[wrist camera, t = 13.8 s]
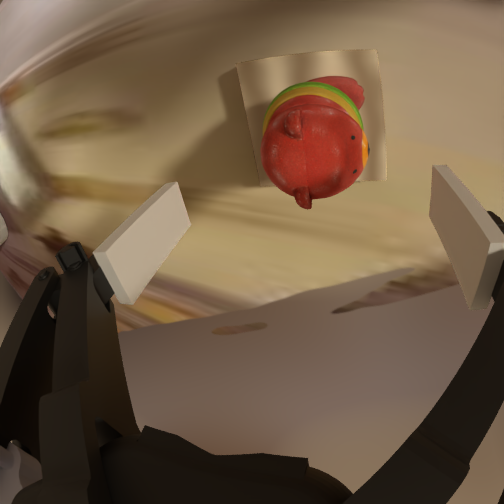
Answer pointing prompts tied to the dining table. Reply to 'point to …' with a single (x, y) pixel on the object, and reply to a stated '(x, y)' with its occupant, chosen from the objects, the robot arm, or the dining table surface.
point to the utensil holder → (3, 230)
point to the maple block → (307, 68)
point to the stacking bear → (315, 138)
